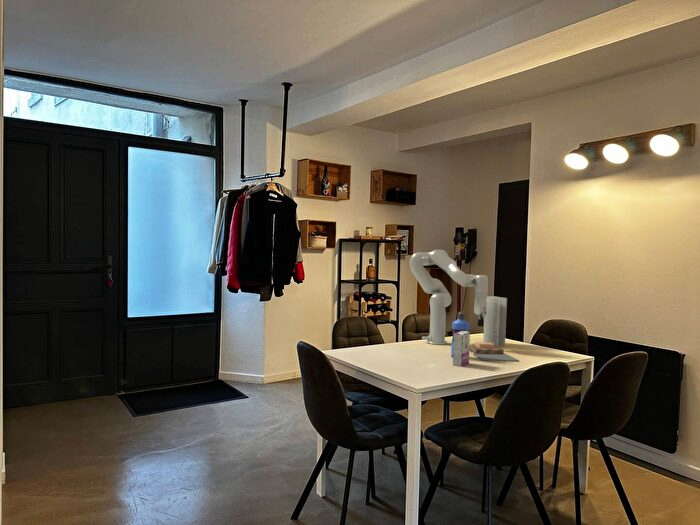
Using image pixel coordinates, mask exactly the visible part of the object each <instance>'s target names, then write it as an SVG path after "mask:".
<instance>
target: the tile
mask: <svg viewBox="0 0 700 525" xmlns="http://www.w3.org/2000/svg"><path fill="white" fill-rule="evenodd" d="M474 345H475V346H477V347H478V348H494V347H495V344H493V343H491V342H483V341H475V344H474Z"/></svg>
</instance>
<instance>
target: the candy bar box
mask: <svg viewBox="0 0 700 525" xmlns="http://www.w3.org/2000/svg"><path fill="white" fill-rule="evenodd" d="M470 334H471V333H470V331H469V332H466V331H460V332H458V333H455V334H454V352H453V358H452V360H453V361H452V365H453V366H456V367H461V368H462V367H463V366H466V365H467V364H469V363H470V351H469V345H471V344H470V341H471V340H470V339H471V336H470Z"/></svg>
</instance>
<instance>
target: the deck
mask: <svg viewBox="0 0 700 525" xmlns="http://www.w3.org/2000/svg"><path fill="white" fill-rule="evenodd" d="M504 351H505V350H504V349H503V348H501V347H499V346H495V347H494V348H478V347H477V346H475V344H474V345H473V344H470V345H469V352H471V353H472V352H473V353H472V354H505V353H504Z"/></svg>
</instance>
